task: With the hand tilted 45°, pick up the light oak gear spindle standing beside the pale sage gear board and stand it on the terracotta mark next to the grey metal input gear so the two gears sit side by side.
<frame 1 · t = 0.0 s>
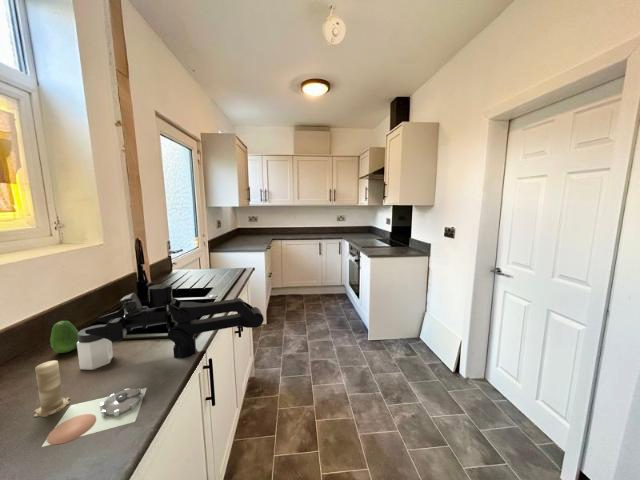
hand: (91, 325, 80), 17 cm above the worktop, tool horizontal, fingers open, 9 cm apart
input gear: (122, 404, 68), resting on board
avocado: (67, 352, 95), on the worktop
jar: (97, 363, 89), on the worktop
board: (102, 417, 65), on the worktop
spindle: (53, 411, 67), on the worktop
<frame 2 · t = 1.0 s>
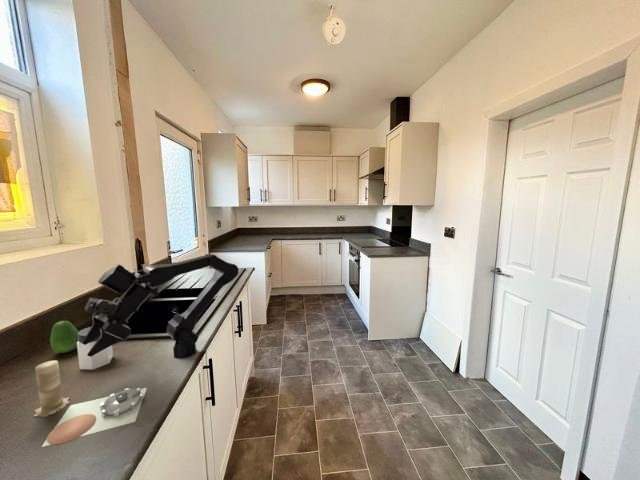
hand: (86, 349, 71), 14 cm above the worktop, tool tilted 45°, fingers open, 9 cm apart
nothing on the worktop moved.
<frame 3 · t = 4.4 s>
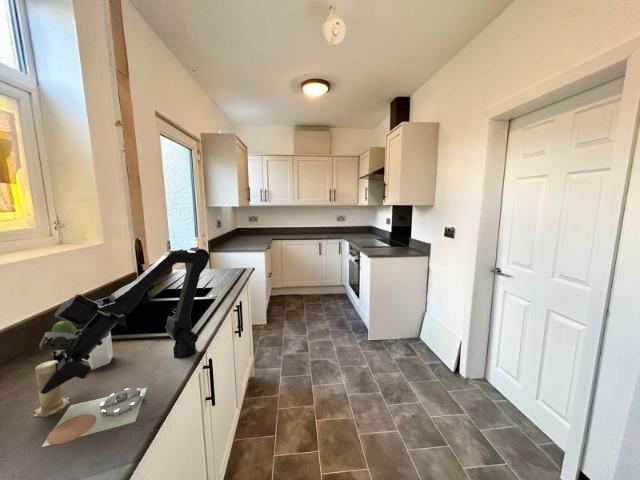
hand: (41, 389, 65), 7 cm above the worktop, tool tilted 45°, fingers closed on spindle, 4 cm apart
spindle: (53, 411, 67), on the worktop, touching gripper
everything else where it was.
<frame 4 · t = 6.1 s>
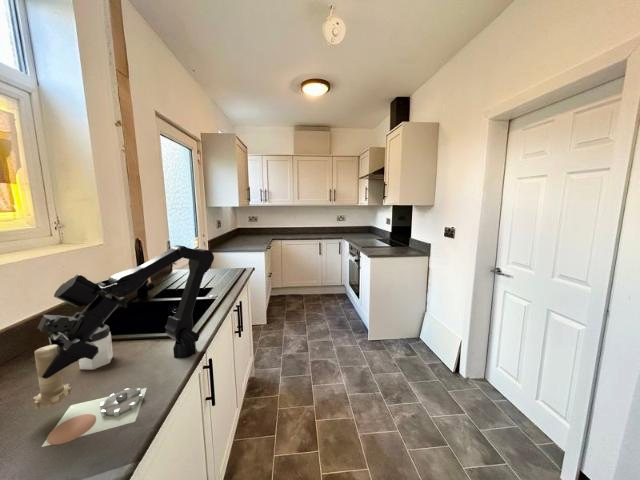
hand: (41, 374, 62), 13 cm above the worktop, tool tilted 45°, fingers closed on spindle, 4 cm apart
spindle: (53, 398, 64), point 6 cm above the worktop, touching gripper
everything else where it was.
when the fingers open (10 cm above the worktop, at t = 7.9 s): spindle drops 1 cm, resting on board.
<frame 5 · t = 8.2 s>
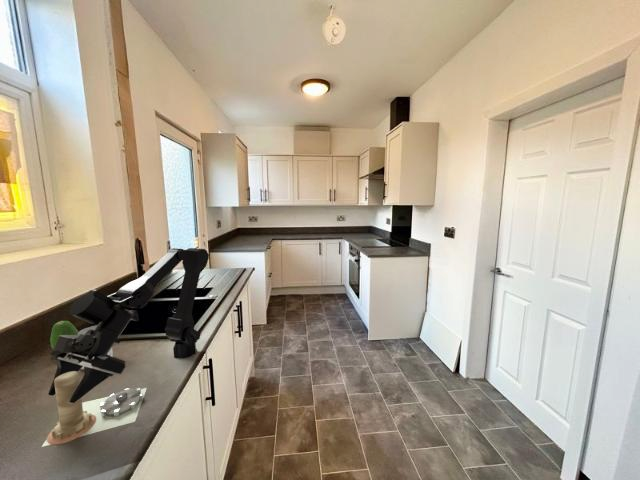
hand: (60, 398, 58), 10 cm above the worktop, tool tilted 45°, fingers open, 7 cm apart
spindle: (73, 427, 61), point 1 cm above the worktop, touching board
everything else where it was.
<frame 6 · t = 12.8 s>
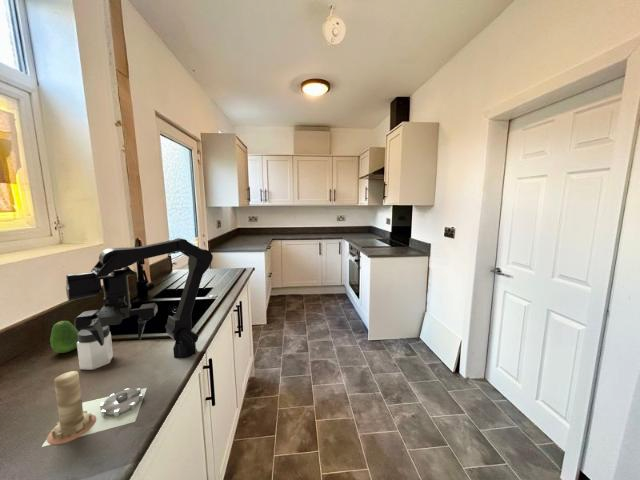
hand: (121, 341, 77), 13 cm above the worktop, tool pointing down, fingers open, 9 cm apart
nothing on the worktop moved.
at the end: spindle 0.0 cm from the target spot on the board, point 1.3 cm above the board's base; spindle tilted 0°; the gripper is holding nothing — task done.
